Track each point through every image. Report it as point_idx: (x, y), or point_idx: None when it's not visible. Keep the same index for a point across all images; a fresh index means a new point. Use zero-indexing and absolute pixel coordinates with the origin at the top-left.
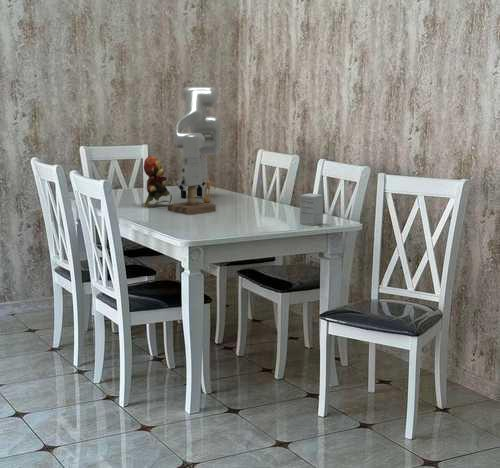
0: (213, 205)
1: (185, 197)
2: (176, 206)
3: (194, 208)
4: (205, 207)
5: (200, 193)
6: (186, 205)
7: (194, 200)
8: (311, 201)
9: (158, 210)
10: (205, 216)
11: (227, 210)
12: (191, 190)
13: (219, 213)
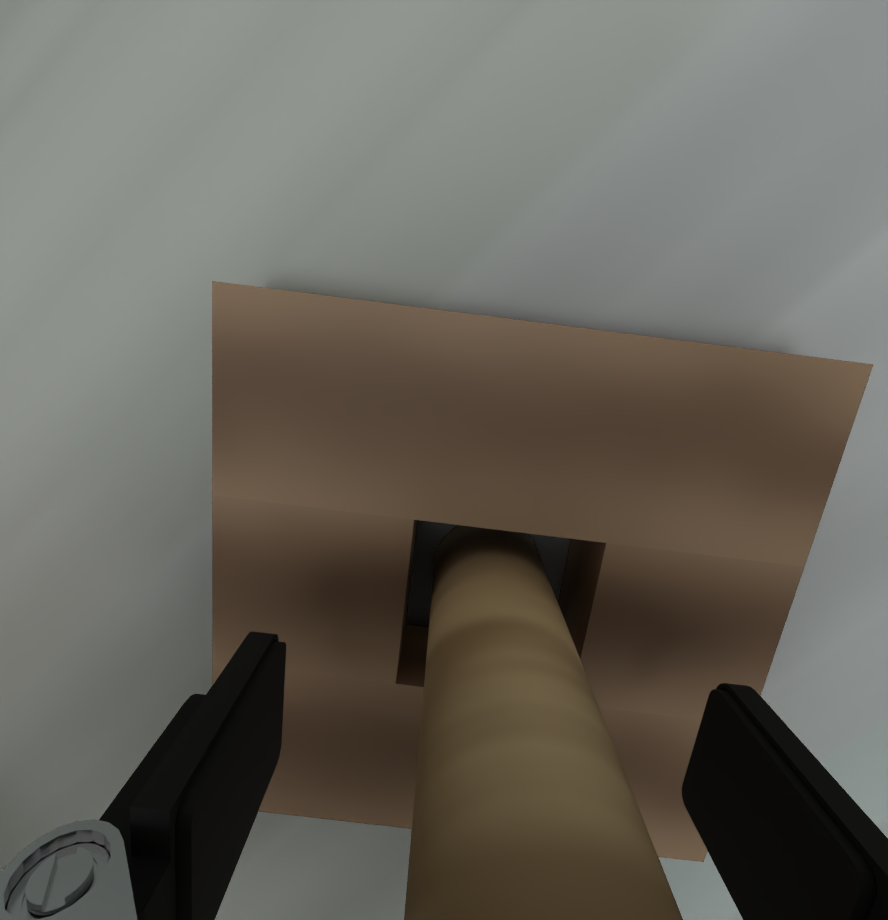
0: (272, 289)
1: (763, 702)
2: (757, 684)
3: (740, 349)
4: (474, 316)
5: (258, 699)
6: (627, 613)
7: (503, 599)
8: None
9: (707, 855)
10: (782, 29)
11: (71, 189)
12: (637, 832)
13: (383, 67)
